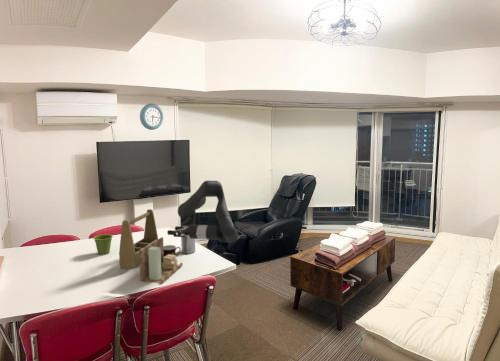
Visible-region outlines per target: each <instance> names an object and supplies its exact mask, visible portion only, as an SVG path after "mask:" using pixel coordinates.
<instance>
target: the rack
mask: <svg viewBox="0 0 500 361" xmlns="http://www.w3.org/2000/svg"><path fill="white" fill-rule="evenodd" d="M163 246H164V237H162V236H161V237H160V238H158V240H156V241H155V242H153V243H151V244H150V245H148V246H146V247H145V248H143V249H141V250H140V251H139V254H140V265H139V271H140V272H139V273H140V282H143V283H144V282H145V283H152V284H153V283H154V284H164V283H165V282H166V281H167V280H169V279H170V278H172V276H173V275H175V274H176V273H177V272H178V271H179V270H180V269H181V268H182V267H183V262H180V263H179V264H178V265H177V267H176V268H174V269H162V263H163V257H164V248H163ZM151 247H161V274H162V277H161V278H160V279H159V280H151V279H150V278H149V253H148V249H149V248H151Z"/></svg>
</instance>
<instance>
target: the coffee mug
mask: <svg viewBox="0 0 500 361" xmlns="http://www.w3.org/2000/svg"><path fill="white" fill-rule="evenodd" d="M163 248H164V257H165V256H166V255H168V254H169V255H175V256H176V257H177V256H178V255H179V254H180V253H181V251H182V248H181V247H180V246H176V245H173V244H168V245H163ZM177 249H179V251H178V252H177V253H176V250H177Z"/></svg>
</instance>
